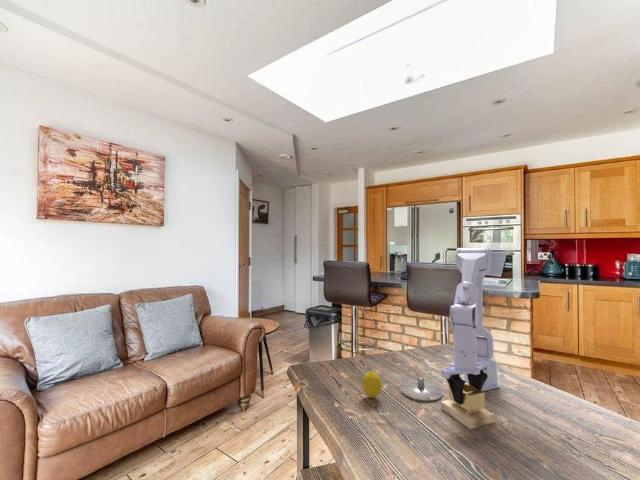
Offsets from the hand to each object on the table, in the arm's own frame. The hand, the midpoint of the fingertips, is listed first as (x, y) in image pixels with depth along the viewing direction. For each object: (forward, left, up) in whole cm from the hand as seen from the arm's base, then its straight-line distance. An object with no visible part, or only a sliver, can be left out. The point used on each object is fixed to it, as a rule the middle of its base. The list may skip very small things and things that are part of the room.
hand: (466, 400), depth 81 cm
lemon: (+19, -17, -4) cm, 26 cm away
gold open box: (0, 0, -1) cm, 1 cm away
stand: (0, 0, -4) cm, 4 cm away
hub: (+3, -15, -4) cm, 16 cm away
